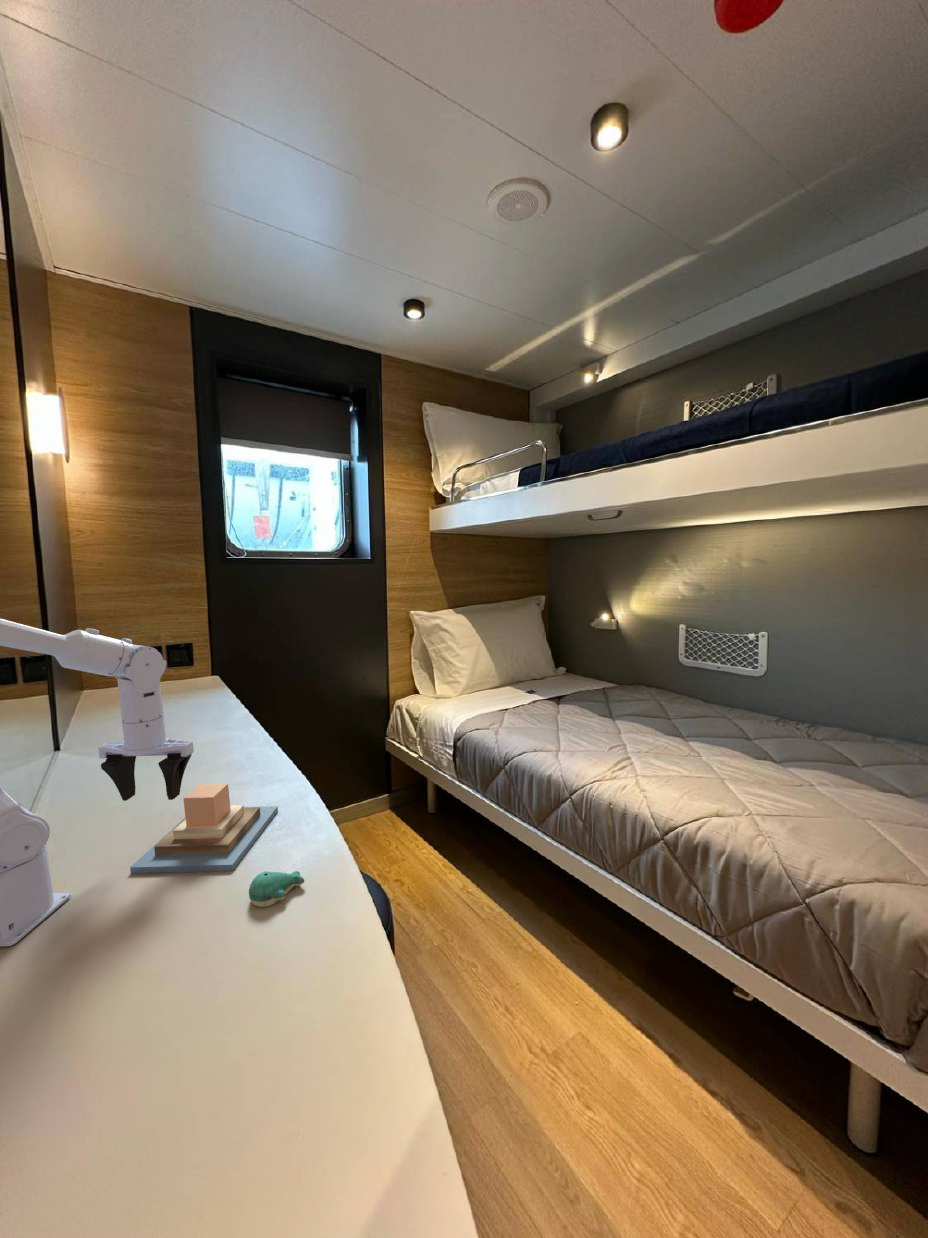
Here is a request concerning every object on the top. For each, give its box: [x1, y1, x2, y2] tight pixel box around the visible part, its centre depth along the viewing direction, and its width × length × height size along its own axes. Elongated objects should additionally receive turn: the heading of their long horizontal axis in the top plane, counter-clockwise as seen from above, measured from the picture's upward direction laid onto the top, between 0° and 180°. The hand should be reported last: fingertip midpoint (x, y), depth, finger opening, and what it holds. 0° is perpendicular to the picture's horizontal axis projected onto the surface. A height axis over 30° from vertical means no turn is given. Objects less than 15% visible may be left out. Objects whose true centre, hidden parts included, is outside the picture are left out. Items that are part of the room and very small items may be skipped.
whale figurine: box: [248, 870, 305, 908], centre depth 70 cm, size 6×7×4 cm
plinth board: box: [130, 804, 279, 874], centre depth 84 cm, size 18×16×4 cm
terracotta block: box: [182, 783, 231, 826], centre depth 84 cm, size 5×5×5 cm
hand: (151, 797), depth 81 cm, fingers open, 7 cm apart
